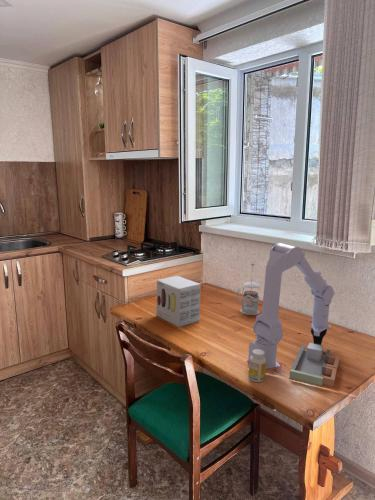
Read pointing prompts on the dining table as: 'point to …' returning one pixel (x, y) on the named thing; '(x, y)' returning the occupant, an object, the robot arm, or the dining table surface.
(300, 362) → the box
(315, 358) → the block
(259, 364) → the supplement bottle
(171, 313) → the supplement box
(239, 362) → the dining table surface
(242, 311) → the french press
